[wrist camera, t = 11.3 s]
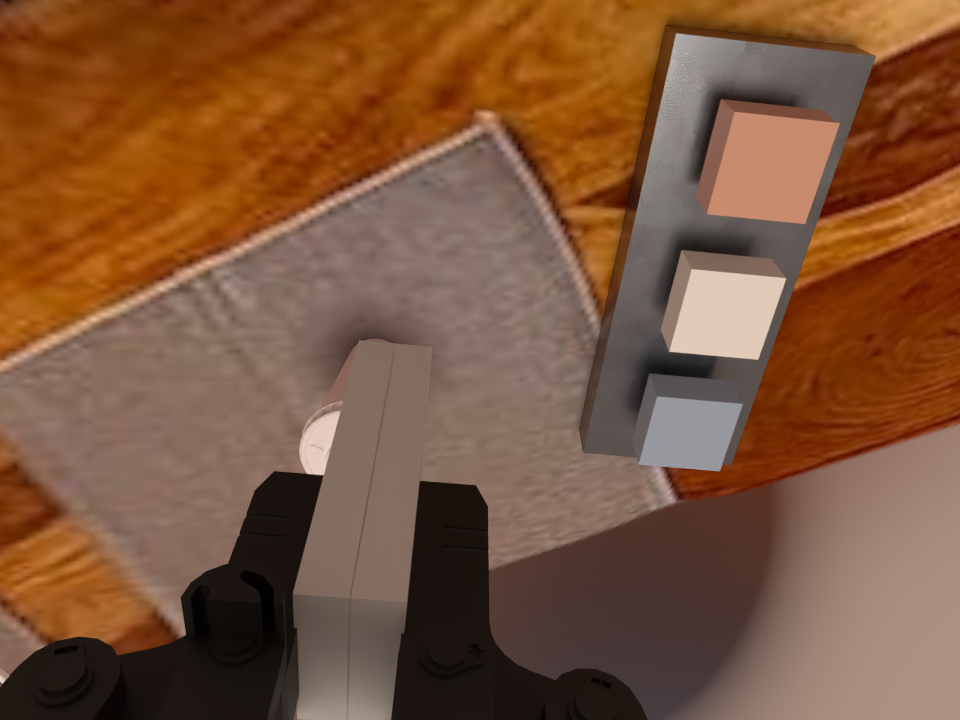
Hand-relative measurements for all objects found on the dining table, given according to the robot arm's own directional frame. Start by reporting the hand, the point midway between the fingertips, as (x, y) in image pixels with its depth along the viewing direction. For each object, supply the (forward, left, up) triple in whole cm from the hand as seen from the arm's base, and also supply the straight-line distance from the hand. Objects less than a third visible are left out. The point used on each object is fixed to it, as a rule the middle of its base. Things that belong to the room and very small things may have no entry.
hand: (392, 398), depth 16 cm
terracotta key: (+1, +16, -28) cm, 32 cm away
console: (+9, +16, -29) cm, 35 cm away
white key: (+9, +16, -28) cm, 33 cm away
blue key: (+17, +16, -28) cm, 36 cm away
